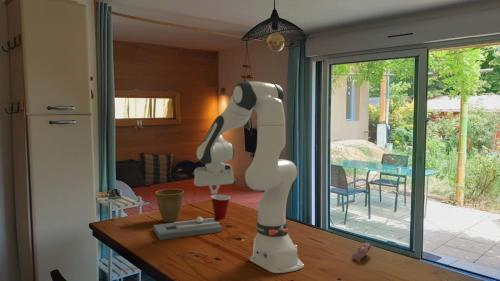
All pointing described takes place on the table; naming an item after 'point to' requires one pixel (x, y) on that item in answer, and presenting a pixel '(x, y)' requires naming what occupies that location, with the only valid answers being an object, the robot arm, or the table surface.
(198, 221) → the ball
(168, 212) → the plant pot
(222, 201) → the plastic cup
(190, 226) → the hole board
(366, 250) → the pink plastic figure
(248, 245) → the table surface
